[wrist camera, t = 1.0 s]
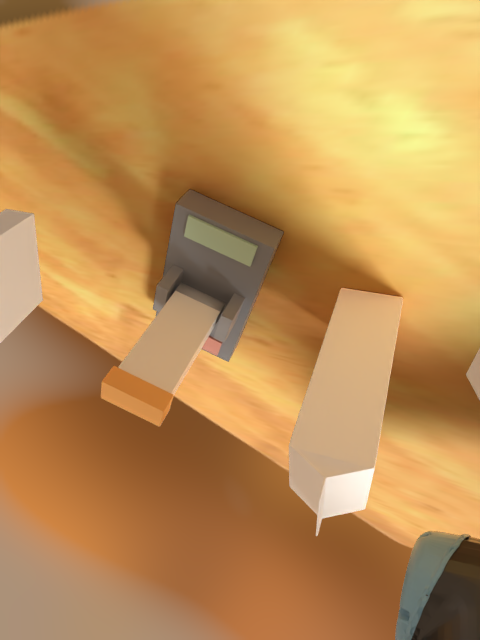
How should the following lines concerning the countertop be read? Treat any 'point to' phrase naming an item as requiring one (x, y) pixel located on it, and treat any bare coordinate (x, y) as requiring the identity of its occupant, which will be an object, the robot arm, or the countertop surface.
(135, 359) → the handle
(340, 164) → the countertop surface
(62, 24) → the countertop surface
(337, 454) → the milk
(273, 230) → the switch plate
